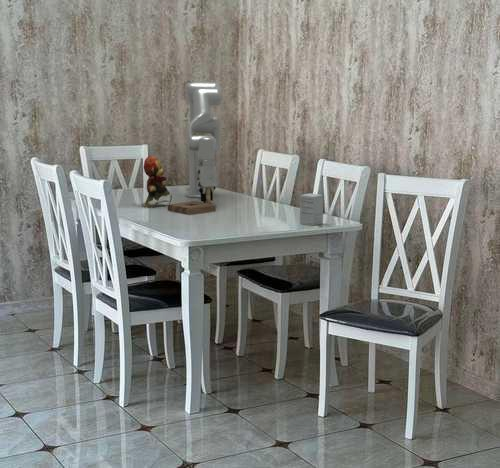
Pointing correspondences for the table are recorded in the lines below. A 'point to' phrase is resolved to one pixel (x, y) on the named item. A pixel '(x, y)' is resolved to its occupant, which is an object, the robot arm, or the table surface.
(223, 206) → the table surface
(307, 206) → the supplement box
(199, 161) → the robot arm
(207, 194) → the peg
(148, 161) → the red green tall figure
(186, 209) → the socket block
